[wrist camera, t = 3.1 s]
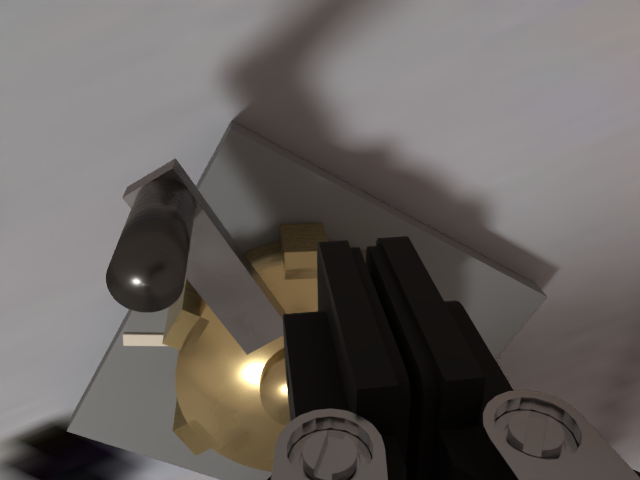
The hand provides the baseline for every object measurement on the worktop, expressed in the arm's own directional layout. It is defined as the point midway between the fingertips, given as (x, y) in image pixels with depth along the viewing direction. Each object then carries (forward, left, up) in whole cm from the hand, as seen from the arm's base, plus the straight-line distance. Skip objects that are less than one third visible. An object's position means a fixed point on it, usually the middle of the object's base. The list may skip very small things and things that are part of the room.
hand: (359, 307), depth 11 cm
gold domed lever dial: (-8, -3, -13) cm, 16 cm away
